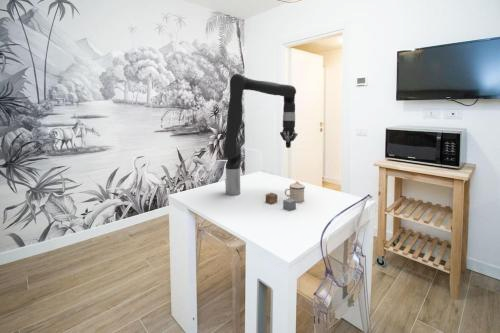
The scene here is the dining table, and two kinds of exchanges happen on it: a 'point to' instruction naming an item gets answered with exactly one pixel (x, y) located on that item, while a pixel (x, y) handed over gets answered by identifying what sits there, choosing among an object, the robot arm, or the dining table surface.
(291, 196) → the teacup with lid
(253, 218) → the dining table surface
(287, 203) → the slate-grey block
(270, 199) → the walnut block
